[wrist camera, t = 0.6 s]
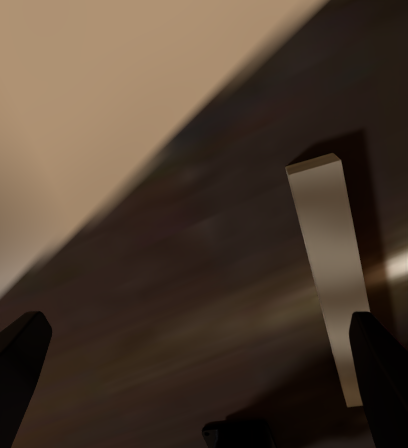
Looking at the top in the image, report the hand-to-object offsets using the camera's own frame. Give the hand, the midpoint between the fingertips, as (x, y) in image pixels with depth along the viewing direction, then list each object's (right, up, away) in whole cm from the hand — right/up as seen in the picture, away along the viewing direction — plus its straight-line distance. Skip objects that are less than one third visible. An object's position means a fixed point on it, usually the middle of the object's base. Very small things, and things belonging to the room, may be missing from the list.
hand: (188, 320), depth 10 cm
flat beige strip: (+10, -2, +15) cm, 18 cm away
